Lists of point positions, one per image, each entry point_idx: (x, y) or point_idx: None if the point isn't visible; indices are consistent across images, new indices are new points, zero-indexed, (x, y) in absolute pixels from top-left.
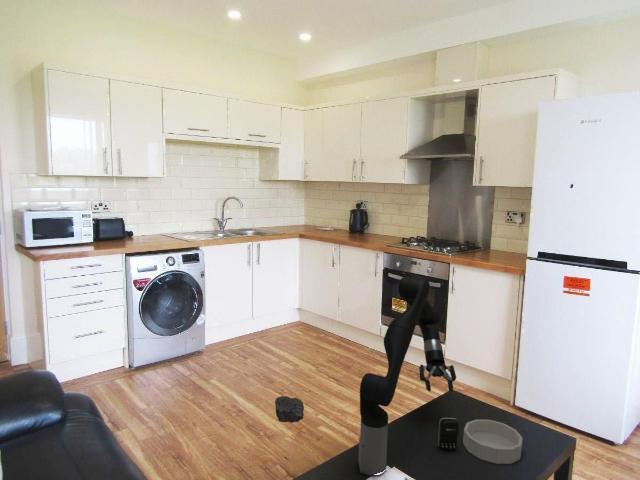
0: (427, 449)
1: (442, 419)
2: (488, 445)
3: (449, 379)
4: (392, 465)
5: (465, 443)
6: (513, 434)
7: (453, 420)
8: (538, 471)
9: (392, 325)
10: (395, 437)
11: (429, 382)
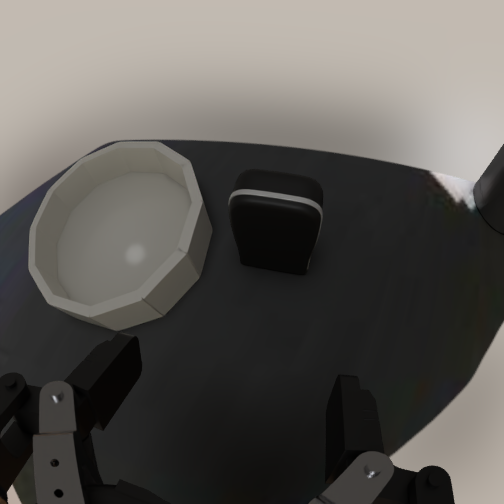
0: (353, 258)
1: (312, 199)
2: (169, 156)
3: (71, 396)
4: (460, 205)
5: (203, 250)
6: (44, 232)
7: (260, 178)
8: (101, 148)
9: None
10: (441, 340)
11: (349, 431)
